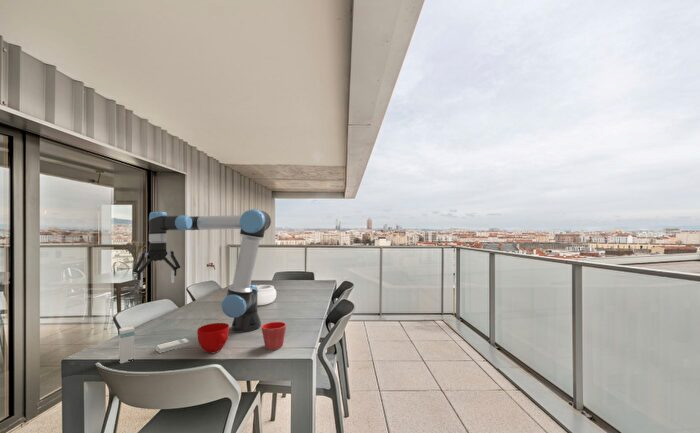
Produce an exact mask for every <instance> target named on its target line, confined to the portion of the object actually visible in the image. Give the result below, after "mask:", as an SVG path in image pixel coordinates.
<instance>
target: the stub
mask: <svg viewBox="0 0 700 433" xmlns="http://www.w3.org/2000/svg"><path fill="white" fill-rule="evenodd" d="M118 329H119V330H118V336H119V337H118V360H119V359H120V361H119V363H120V364H125V363H129V361H128V359H131V358H134V359H135V334H136V331H135V327H134V326H133V325H131V326H126V327H121V328H118Z"/></svg>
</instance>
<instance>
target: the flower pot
mask: <svg viewBox="0 0 700 433" xmlns="http://www.w3.org/2000/svg"><path fill="white" fill-rule="evenodd" d="M286 330H287V323H285V322H283V321H271V322H267V323H264V324H261V334H262V337H263V342H264V346H265V349H266V350H270V351H271V350H272V351H273V350H280V349H281V348H283V347H284V341H285V336H286Z"/></svg>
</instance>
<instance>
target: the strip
mask: <svg viewBox="0 0 700 433" xmlns="http://www.w3.org/2000/svg"><path fill="white" fill-rule="evenodd" d="M186 346H187V347H190V341H189V340H188V339H187V338H181V339H176V340H173V341H169V342H165V343H161V344H157V345H155V350H156V349H157V350H158V352H159V353H160V352H163V351H168V350H172V349H175V350H178V349H177V348H179V349H183V348H186ZM182 347H183V348H182ZM172 351H173V350H172ZM158 352H157V353H158ZM168 352H169V351H168ZM159 353H158V354H159Z"/></svg>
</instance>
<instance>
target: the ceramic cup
mask: <svg viewBox="0 0 700 433" xmlns="http://www.w3.org/2000/svg"><path fill="white" fill-rule="evenodd" d="M229 331H230V325H229V324H228V323H225V322H215V323H210V324H204V325H201V326H200V327H198V328H197V330H196V335H197V341H198V344H199V346H200V348H201V349H202V350H203V351H204V352H205V353H206V352H208V353H207V354H213V353H212V352H214V353H218V352H221V351H222V348H223V347H224V346H225V345H226V344H227V341H228V338H229V333H230V332H229ZM217 351H218V352H217Z"/></svg>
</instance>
